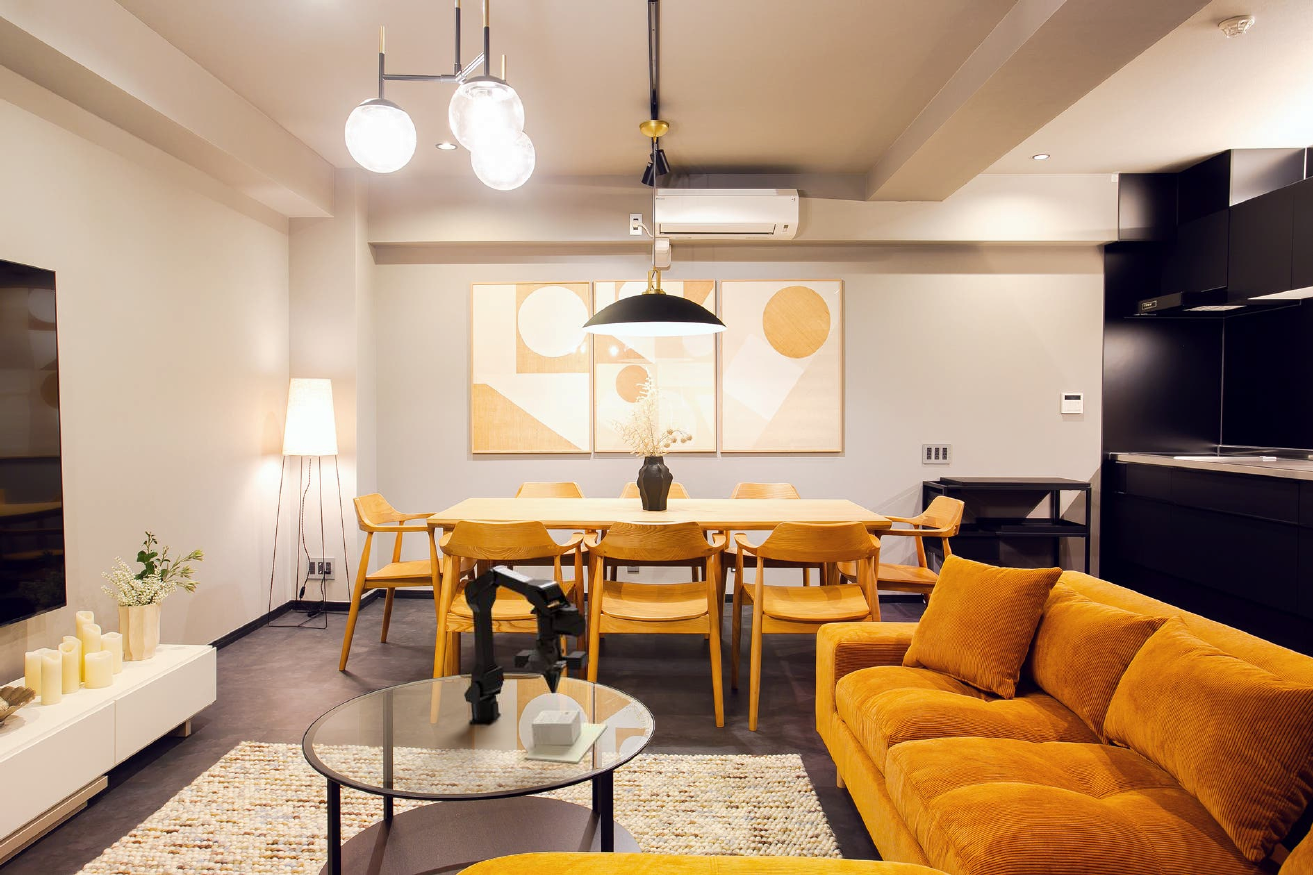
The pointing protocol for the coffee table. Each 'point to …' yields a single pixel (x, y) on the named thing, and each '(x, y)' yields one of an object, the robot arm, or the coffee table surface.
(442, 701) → the coffee table surface
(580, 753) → the mat
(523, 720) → the coffee table surface
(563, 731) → the small box
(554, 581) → the robot arm
